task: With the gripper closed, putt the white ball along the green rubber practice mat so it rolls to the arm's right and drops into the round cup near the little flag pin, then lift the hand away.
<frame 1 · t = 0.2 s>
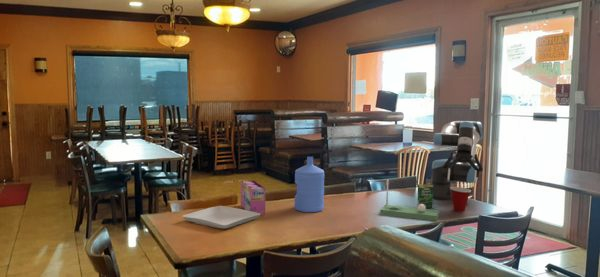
hand: (461, 181, 253), 16 cm above the table, tool tilted 35°, fingers open, 13 cm apart
coffee box: (424, 208, 259), on the table
flag pin: (386, 205, 252), resting on putting mat
ball: (421, 207, 239), point 4 cm above the table, touching putting mat
gum box: (252, 210, 248), on the table
putting mat: (409, 214, 243), on the table
plastic cup: (459, 210, 255), on the table
square plate: (221, 222, 225), on the table
water jug: (309, 209, 251), on the table
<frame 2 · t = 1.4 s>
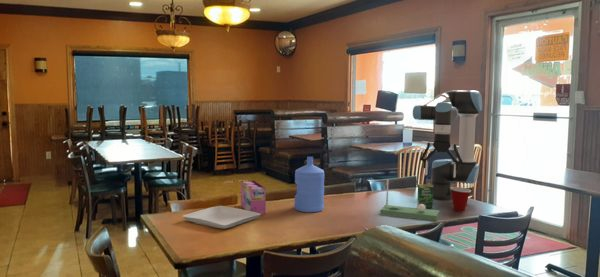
hand: (440, 176, 235), 22 cm above the table, tool pointing down, fingers open, 13 cm apart
nothing on the table moved.
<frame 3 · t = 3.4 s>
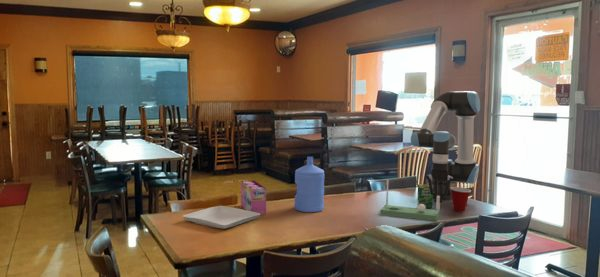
hand: (437, 209, 236), 5 cm above the table, tool pointing down, fingers closed
nothing on the table moved.
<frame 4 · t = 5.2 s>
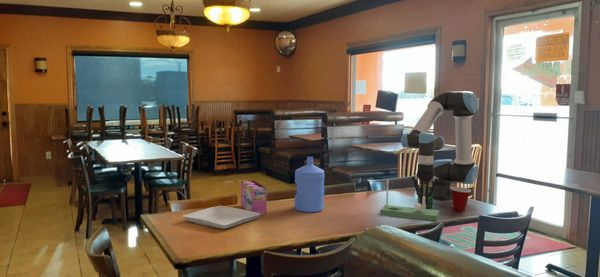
hand: (423, 209, 239), 4 cm above the table, tool pointing down, fingers closed
ball: (418, 207, 240), point 4 cm above the table, tilted 41°, touching gripper, putting mat
everything else where it was.
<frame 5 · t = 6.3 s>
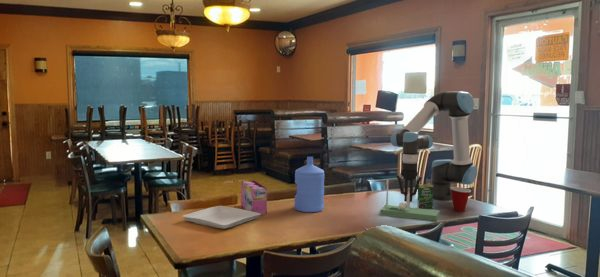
hand: (408, 207, 242), 4 cm above the table, tool pointing down, fingers closed
ball: (402, 206, 243), point 4 cm above the table, tilted 136°, touching gripper, putting mat
everything else where it was.
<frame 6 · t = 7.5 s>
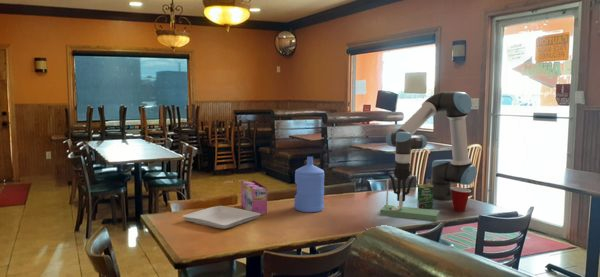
hand: (400, 207, 243), 4 cm above the table, tool pointing down, fingers closed
ball: (395, 209, 245), point 2 cm above the table
everything else where it was.
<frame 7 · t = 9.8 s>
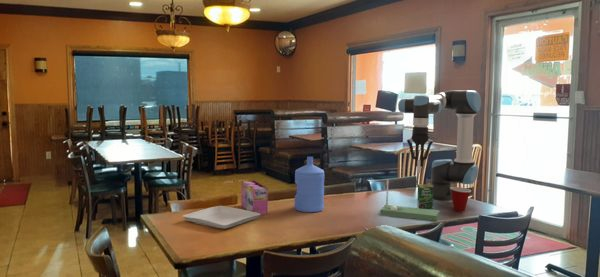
hand: (418, 172, 239), 22 cm above the table, tool pointing down, fingers closed
ball: (393, 209, 245), point 2 cm above the table, tilted 18°
everything else where it was.
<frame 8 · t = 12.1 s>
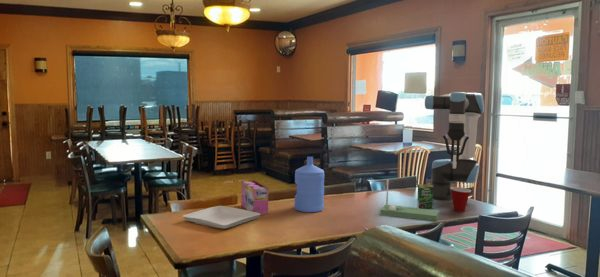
hand: (454, 168, 243), 24 cm above the table, tool pointing down, fingers closed
ball: (392, 209, 245), point 2 cm above the table, tilted 38°
everything else where it was.
at the end: ball 0.7 cm from the target spot in the putting mat, point 2.0 cm above the putting mat's base; ball point 2.0 cm above the table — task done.
